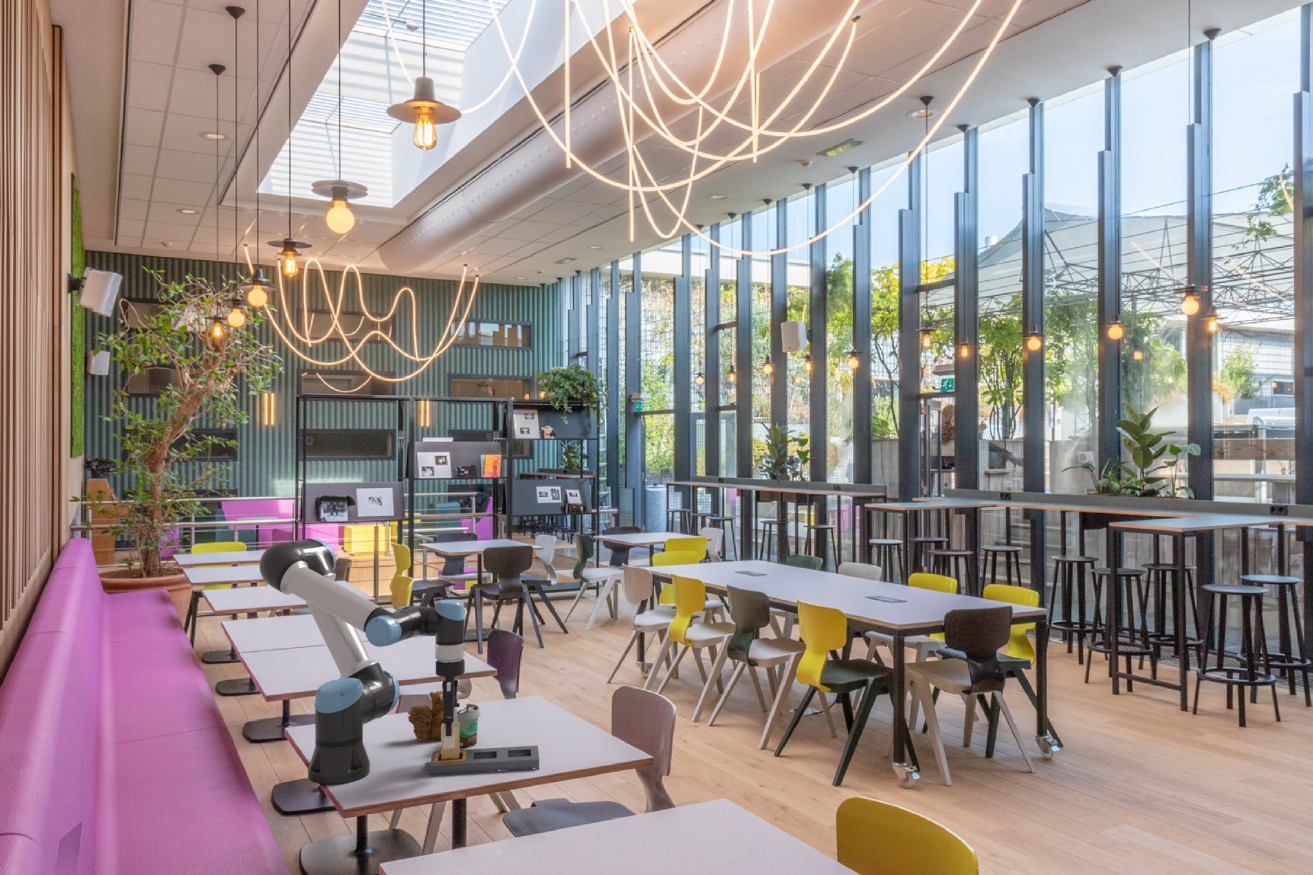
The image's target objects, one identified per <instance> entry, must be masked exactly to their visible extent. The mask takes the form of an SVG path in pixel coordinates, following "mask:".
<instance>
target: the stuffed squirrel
mask: <svg viewBox="0 0 1313 875" xmlns="http://www.w3.org/2000/svg"><path fill="white" fill-rule="evenodd" d="M429 696H430V698H431V704H432V705H431V706H432V707H431V708H430V707H429V706H428V705H426V704H421V705H415V706H412V707H411V709H410V711H407V714H408V717H407V718H408V722H409V723H411V725H413V726H412V727H413V731H412V732H413V734H414V735H415V738H417V739H418V740H420V741H421V742H429V741H431V739H432V740H434V739H435V740H436V741H441V726H442V724H441V720H443V709H444V699H443V690H437V691H435V692H434V691H431V692H429ZM446 718H447V717H446ZM428 740H429V741H428Z"/></svg>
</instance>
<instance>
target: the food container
mask: <svg viewBox="0 0 1313 875" xmlns="http://www.w3.org/2000/svg"><path fill="white" fill-rule="evenodd" d="M481 715H482V714H481V710H480V708H479V705H477V704H473V703H466V707H464V708H463V709H460V710H457V722H460V748H463V749H467V748H468V747H469V748H471V747H470V746H472V747H474V746H476V745H477V743H478V742H477V741H478V740H477V739H478V726H479V725H478V724H479V718H480V716H481ZM475 744H476V745H475ZM469 748H468V749H469Z"/></svg>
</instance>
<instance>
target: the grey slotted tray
mask: <svg viewBox="0 0 1313 875" xmlns="http://www.w3.org/2000/svg"><path fill="white" fill-rule="evenodd" d="M539 754H540V753H539V745H522V746H520V745H519V746H507V747H506V746H504V747H490V748H489V747H487V748H486V747H485V748H472V749H471V748H470V749H469V748H468V749H467V748H465V749H460V760H446V761H441V750H435V751H434V750H433V751H432V753H431V758H430V762H429V768H428V770H429V771H428V775H430V776H442V775H457V774H458V775H459V774H462V775H463V774H476V772H479V773H490V772H489V771H496V772H499V771H498V770H512V771H523V770H522V769H529V770H534V769H533V768H539V769H540V755H539Z"/></svg>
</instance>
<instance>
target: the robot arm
mask: <svg viewBox="0 0 1313 875" xmlns="http://www.w3.org/2000/svg"><path fill="white" fill-rule="evenodd" d="M336 563H337V558H336V554H335V551H334V549H333V548H332V547H331V545H329V544H328V543H327V542H326V541H324V540H321V539H318V538H303V539H300V540H299V539H298V540H293V541H292V540H290V541H281V542H277V543H274V544H272V545H271V546H269V547H268V548H267V549H266V550H265V551H264V552H263V553H262V556H261V557H260V560H259V567H258V568H259V572H260V575H261V578H262V579H263V580H264V582H266V584H268V585H269V586H270V587H271V588H273V589H274V590H276V591H278V592H280V593H282V594H284V595H294V596H296V597H298V598H300V599H302V600H304V601H305V602H306V605H307V607H308V610H309V611H310V613H311V615H312V617H313V620H314V621H315V623H316V626H317V628H318V630H319V632H320V634H321V636H322V638H323V640H324V642H325V644H326V646H327V649H328V650H329V653H330V654H331V657H332V660H333V661H334V663H335V665H336V667H337V669H338V671H339V674H340V677H339V678H338V679H332V680H329V681H326V682H325V683H323V684H321V685H320V686H318V688H317V690H316V692H315V699H314V708H315V709H314V711H315V713H314V714H315V716H314V718H315V724H314V725H315V734H314V735H315V746H314V750H313V753H312V756H311V759H310V762H309V765H308V769H307V774H308V775H307V779H308V780H309V781H310V782H312V783H315V784H320V783H321V784H320V785H335V784H336V785H338V784H344V783H350V782H354V781H357V780H360V779H363V778H364V777H366V776H368V775H369V773H371V763H370V759H369V757H368V756H369V755H368V753H367V752H368V751H367V750H366V746H365V745H364V725H365V724H368V723H370V722H372V721H374V720H376V719H381V718H383V717H384V716H386V714H388V713H391V711H393V709H394V708H395V707H396V706H397V704H398V702H399V698H400V694H401V693H400V691H401V690H400V684H399V681H398V679H397V678H396V676H395V675H394V674H393V673H391V672H389V671H387V670H383V668H382V666H381V664H380V662H379V661H378V660H375V659H372V658H371V657H370V655H369V653H368V651H367V649H366V647H365V645H364V643H363V641H362V638H361V637H360V634H359V632H358V631H360V632H362V633H365V637H366V639H367V640H368V642H369V643H370V644H371V645H372V646H374V647H378V648H381V647H388V646H389V647H390V646H392V645H394V644H396V643H399V642H402V641H405V640H409V639H411V638H414V637H417V636H419V637H420V636H421V637H422V636H425V637H427V636H430V637H435V645H434V646H435V648H434V649H435V653H434V654H435V659H436V660H435V674H436V676H438V677H444V678H445V679H444V680H442V685H441V688H442V691H443V699H444V709H443V720H441V724H443V749H447V748H454V722H457V712H458V708H460V702H458V694H457V693H458V689H459V688H458V687H459V679H457V677H458V676H462V675H464V674H465V671H466V670H465V669H466V668H465V665H466V664H465V662H466V660H465V659H464V657H465V650H467V649H468V647H467V645H465V619H466V615H465V603H464V602H463V601H462V600H460V599H456V598H455V599H442V600H438V601H436V603H435V606H434V607H429V606H415V605H406V606H403V605H402V606H399V607H398V608H396V610H395V611H394V612H391V611H389V610H388V609H386V608H383V607H382V606H380V605H378V604H376V603H374V602H372V601H371V600H368V599H367V598H366V597H363V596H362V595H360V594H358V593H355V592H354V591H353V590H352V591H351V590H350V589H348V588H347V587H345V586H342V585H340V584H339V583H337V582H335V580H336V577H337V574H336V572H335V569H336ZM446 717H447V718H446ZM319 782H320V783H319Z"/></svg>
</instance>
